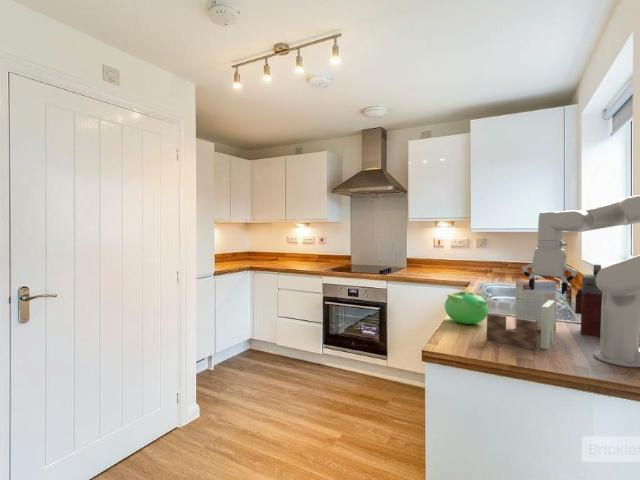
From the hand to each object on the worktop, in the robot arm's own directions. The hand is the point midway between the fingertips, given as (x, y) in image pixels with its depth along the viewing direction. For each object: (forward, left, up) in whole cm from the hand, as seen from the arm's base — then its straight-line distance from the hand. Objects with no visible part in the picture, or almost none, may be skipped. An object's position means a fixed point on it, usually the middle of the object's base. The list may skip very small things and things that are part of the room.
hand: (547, 291), depth 127 cm
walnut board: (+10, +10, -20) cm, 24 cm away
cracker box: (+7, -16, -20) cm, 26 cm away
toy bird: (+32, -7, -20) cm, 38 cm away
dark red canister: (-11, -26, -20) cm, 35 cm away
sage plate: (0, 0, -20) cm, 20 cm away
